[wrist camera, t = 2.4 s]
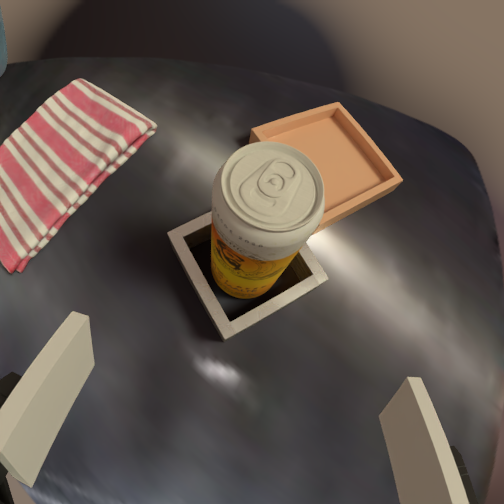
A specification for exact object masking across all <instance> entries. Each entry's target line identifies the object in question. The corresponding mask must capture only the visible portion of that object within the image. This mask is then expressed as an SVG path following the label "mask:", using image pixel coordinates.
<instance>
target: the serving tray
mask: <svg viewBox="0 0 504 504" xmlns="http://www.w3.org/2000/svg"><path fill="white" fill-rule="evenodd" d="M264 141H270V142H278V143H283V144H286V145H289V146H291V147H293V148H295V149H297V150H299V151H300V152H302V153H303V154H305V155H306V156H307V157H308V158H309V159H310V160H311V161H312V162H313V163H314V164H315V166H316V167H317V169H318V170H319V172H320V174H321V177H322V180H323V184H324V197H325V208H324V213H323V217H322V219H321V221H320V223H319V225H318V226H317V228H316V229H315V231H314V232H313V233H312V235H313V234H315V233H317V232H319V231H321V230H322V229H324V228H326V227H328V226H330V225H332V224H333V223H335V222H337V221H339V220H341V219H343V218H344V217H346V216H348V215H350V214H352V213H354V212H355V211H357V210H359V209H361V208H363V207H364V206H366V205H368V204H370V203H372V202H374V201H375V200H377V199H379V198H381V197H383V196H384V195H386V194H388V193H390V192H392V191H393V190H394V189H395V188H396V187H397V186H398V185H399V184H400V183H401V182H402V181H403V179H402V178H401V177H400V175H399V174H398V173H397V171H396V170H395V169H394V167H393V166H392V165H391V163H390V162H389V161H388V159H387V158H386V157H385V156H384V154H383V153H382V152H381V151H380V149H379V148H378V147H377V146H376V144H375V143H374V142H373V141H372V140H371V138H370V137H369V136H368V135H367V134H366V132H365V131H364V130H363V129H362V128H361V127H360V125H359V124H358V123H357V122H356V121H355V120H354V118H353V117H352V116H351V115H350V114H349V113H348V112H347V111H346V110H345V108H344V107H343V106H342V105H341V104H340V103H339V102H336V103H333V104H329V105H325V106H322V107H318V108H315V109H311V110H308V111H305V112H301V113H298V114H295V115H292V116H288V117H285V118H282V119H279V120H276V121H273V122H270V123H267V124H264V125H261V126H258V127H255V128H253V129H251V134H250V140H249V144H252V143H256V142H264Z"/></svg>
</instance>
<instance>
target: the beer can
mask: <svg viewBox="0 0 504 504" xmlns="http://www.w3.org/2000/svg"><path fill="white" fill-rule="evenodd" d="M324 208H325V197H324V184H323V180H322V177H321V174H320V172H319V170H318V169H317V167H316V166H315V164H314V163H313V162H312V161H311V160H310V159H309V158H308V157H307V156H306V155H305V154H303V153H302V152H300V151H299V150H297V149H295V148H293V147H291V146H289V145H286V144H283V143H278V142H270V141H264V142H256V143H252V144H249V145H246V146H244V147H242V148H240V149H238V150H237V151H236V152H234V153H233V154H232V155H231V156H230V157H229V159H228V160H227V161H226V162H225V163H224V164H223V165H222V166H221V168H220V169H219V171H218V173H217V174H216V177H215V179H214V183H213V188H212V225H211V270H212V275H213V278H214V280H215V282H216V283H217V285H218V286H219V287H220V288H221V289H222V290H223V291H224V292H226V293H227V294H229V295H231V296H233V297H237V298H242V299H249V298H255V297H258V296H260V295H262V294H264V293H265V292H267V291H268V290H269V289H270V288H271V287H272V285H273V284H274V283H275V282H276V280H277V279H278V278H279V276H280V275H281V274H282V273H283V271H284V270H285V269H286V267H287V266H288V265H289V263H290V262H291V261H292V260H293V258H294V257H295V256H296V254H297V253H298V252H299V250H300V249H301V248H302V246H303V245H304V244H305V243H306V241H307V240H308V239H309V237H310V236H311V235H312V233H313V232H314V231H315V229H316V228H317V226H318V225H319V223H320V221H321V219H322V217H323V213H324Z"/></svg>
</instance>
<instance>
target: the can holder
mask: <svg viewBox="0 0 504 504" xmlns="http://www.w3.org/2000/svg"><path fill="white" fill-rule="evenodd" d="M211 225H212V211H211V212H209V213H207V214H204V215H202V216H200V217H198V218H196V219H194V220H192V221H190V222H188V223H186V224H184V225H182V226H179V227H177V228H175V229H173V230H171V231H169V232H167V234H168V237H169V240H170V244H171V247H172V249H173V251H174V253H175V255H176V257H177V259H178V260H179V262H180V264H181V266H182V268H183V270H184V272H185V274H186V276H187V278H188V279H189V281H190V283H191V285H192V287H193V289H194V291H195V292H196V294H197V296H198V298H199V300H200V302H201V303H202V305H203V307H204V309H205V311H206V312H207V314H208V316H209V318H210V319H211V321H212V323H213V325H214V327H215V328H216V330H217V332H218V334H219V335H220V337H221V339H222V340H223V342H225V341H227V340H229V339H230V338H232V337H234V336H236V335H237V334H239V333H241V332H243V331H245V330H246V329H248V328H250V327H252V326H253V325H255V324H257V323H259V322H260V321H262V320H264V319H266V318H267V317H269V316H271V315H272V314H274V313H276V312H278V311H279V310H281V309H283V308H284V307H286V306H288V305H289V304H291V303H293V302H294V301H296V300H298V299H299V298H301V297H303V296H304V295H306V294H308V293H309V292H311V291H313V290H314V289H316V288H317V287H319V286H320V285H321V284H323V283H324V282H325V281H327V280H328V279H329V278H328V277H327V275H326V273H325V272H324V270H323V269H322V267H321V266H320V264H319V262H318V261H317V259H316V258H315V256H314V254H313V253H312V251H311V250H310V248H309V247H308V245H307V244H306V243H305V244H304V245H303V246H302V248H301V249H300V250H299V252H298V253H297V254H296V256H295V257H294V258H293V260H292V261H291V262H290V263H289V264H290V265H291V267H292V269H293V270H294V272H295V273H296V275H297V277H298V278H299V280H300V283H298V284H296V285H295V286H293V287H291V288H290V289H288V290H286V291H284V292H283V293H281V294H279V295H277V296H276V297H274V298H272V299H270V300H269V301H267V302H265V303H263V304H262V305H260V306H258V307H256V308H255V309H253V310H251V311H249V312H248V313H246V314H244V315H242V316H240V317H239V318H237V319H235V320H233V321H231V322H229V320H228V318H227V316H226V315H225V313H224V311H223V309H222V308H221V306H220V304H219V302H218V301H217V299H216V297H215V295H214V293H213V292H212V290H211V288H210V286H209V285H208V283H207V281H206V279H205V277H204V276H203V274H202V272H201V270H200V268H199V266H198V265H197V263H196V261H195V259H194V257H193V255H192V254H191V252H190V250H189V249H191V248H193V247H195V246H197V245H199V244H201V243H203V242H205V241H207V240H209V239H211Z"/></svg>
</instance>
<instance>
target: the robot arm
mask: <svg viewBox="0 0 504 504" xmlns="http://www.w3.org/2000/svg"><path fill="white" fill-rule="evenodd" d="M6 66H7V45H6V38H5V30H4V24H3V18H2V12H1V7H0V76H1V75H2V74H3V73H4V71H5V69H6ZM94 365H95V363H94V356H93V349H92V341H91V333H90V324H89V316H86V315H83V314H80V313H77V312H74V311H72V312H71V313H70V315H69V316H68V317H67V318H66V320H65V321H64V322H63V323H62V325H61V326H60V327H59V328H58V330H57V331H56V332H55V334H54V335H53V336H52V337H51V339H50V340H49V341H48V343H47V344H46V345H45V347H44V348H43V349H42V351H41V352H40V353H39V355H38V356H37V357H36V359H35V360H34V361H33V363H32V364H31V365H30V367H29V368H28V370H27V371H26V372H25V374H24V375H23V377H22V376H20V375H18V374H16V373H14V372H11V373H10V374H8V375H7V376H5V377H3V378H2V379H1V380H0V504H14V502H13V498H12V495H11V492H10V488H9V485H8V482H7V479H6V474H7V473H8V472H9V473H10V474H11V475H12V476H13V477H14V478H15V479H17V480H18V481H20V482H22V483H24V484H26V485H27V486H29V487H31V488H32V486H33V484H34V482H35V480H36V477H37V475H38V473H39V471H40V469H41V467H42V464H43V462H44V460H45V458H46V456H47V454H48V452H49V450H50V448H51V446H52V444H53V442H54V440H55V438H56V436H57V434H58V432H59V430H60V428H61V426H62V424H63V422H64V420H65V418H66V416H67V414H68V412H69V410H70V409H71V407H72V405H73V403H74V401H75V399H76V397H77V396H78V394H79V392H80V390H81V388H82V386H83V385H84V383H85V381H86V379H87V377H88V376H89V374H90V372H91V370H92V369H93V367H94ZM379 419H380V423H381V426H382V430H383V434H384V437H385V441H386V445H387V449H388V453H389V457H390V461H391V465H392V469H393V473H394V477H395V482H396V486H397V491H398V495H399V500H400V504H478V502H477V499H476V496H475V493H474V490H473V487H472V484H471V481H470V478H469V475H467V473H468V472H467V470H466V467H464V465H465V464H464V461H463V459H462V456H461V454H460V453H459V452H458V450H457V449H456V448H455V447H454V446H449V444H448V441H447V439H446V436H445V434H444V431H443V429H442V426H441V424H440V421H439V419H438V416H437V414H436V412H435V409H434V407H433V404H432V402H431V400H430V397H429V395H428V393H427V391H426V388H425V386H424V384H423V382H422V379H421V378H417V377H407V378H406V379H405V381H404V382H403V384H402V385H401V387H400V388H399V389H398V391H397V392H396V394H395V395H394V396H393V398H392V399H391V400H390V402H389V403H388V404H387V406H386V407H385V408H384V410H383V411H382V412H381V414H380V415H379Z"/></svg>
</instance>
